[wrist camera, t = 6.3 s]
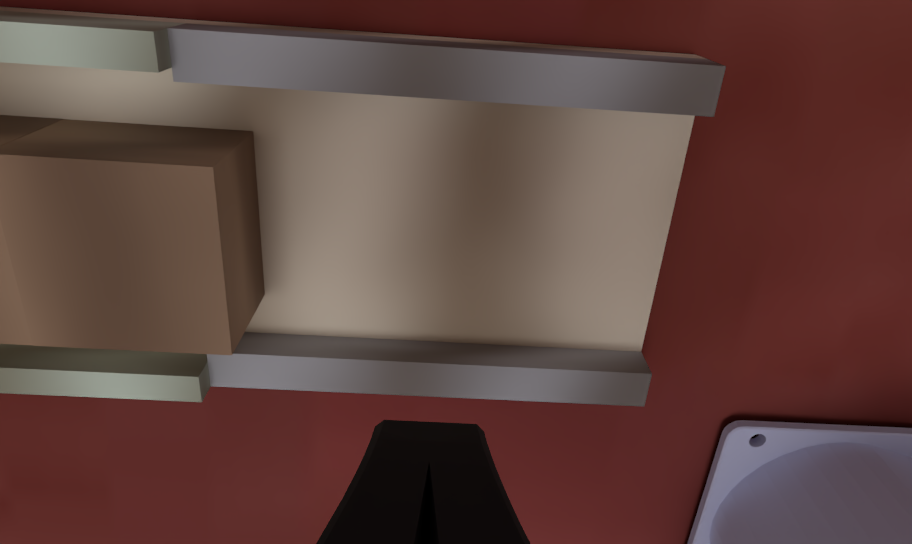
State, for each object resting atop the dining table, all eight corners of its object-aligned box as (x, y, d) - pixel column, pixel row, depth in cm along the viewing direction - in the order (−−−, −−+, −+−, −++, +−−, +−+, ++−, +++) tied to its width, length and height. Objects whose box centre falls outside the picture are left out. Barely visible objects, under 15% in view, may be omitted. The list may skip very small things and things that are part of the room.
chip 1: (253, 130, 16) (212, 167, 13) (264, 294, 18) (232, 355, 15) (63, 119, 15) (-17, 153, 13) (96, 285, 17) (32, 345, 15)
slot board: (695, 54, 16) (739, 71, 13) (627, 367, 20) (651, 422, 17) (-242, -11, 15) (-369, -4, 13) (-114, 331, 19) (-193, 384, 17)
